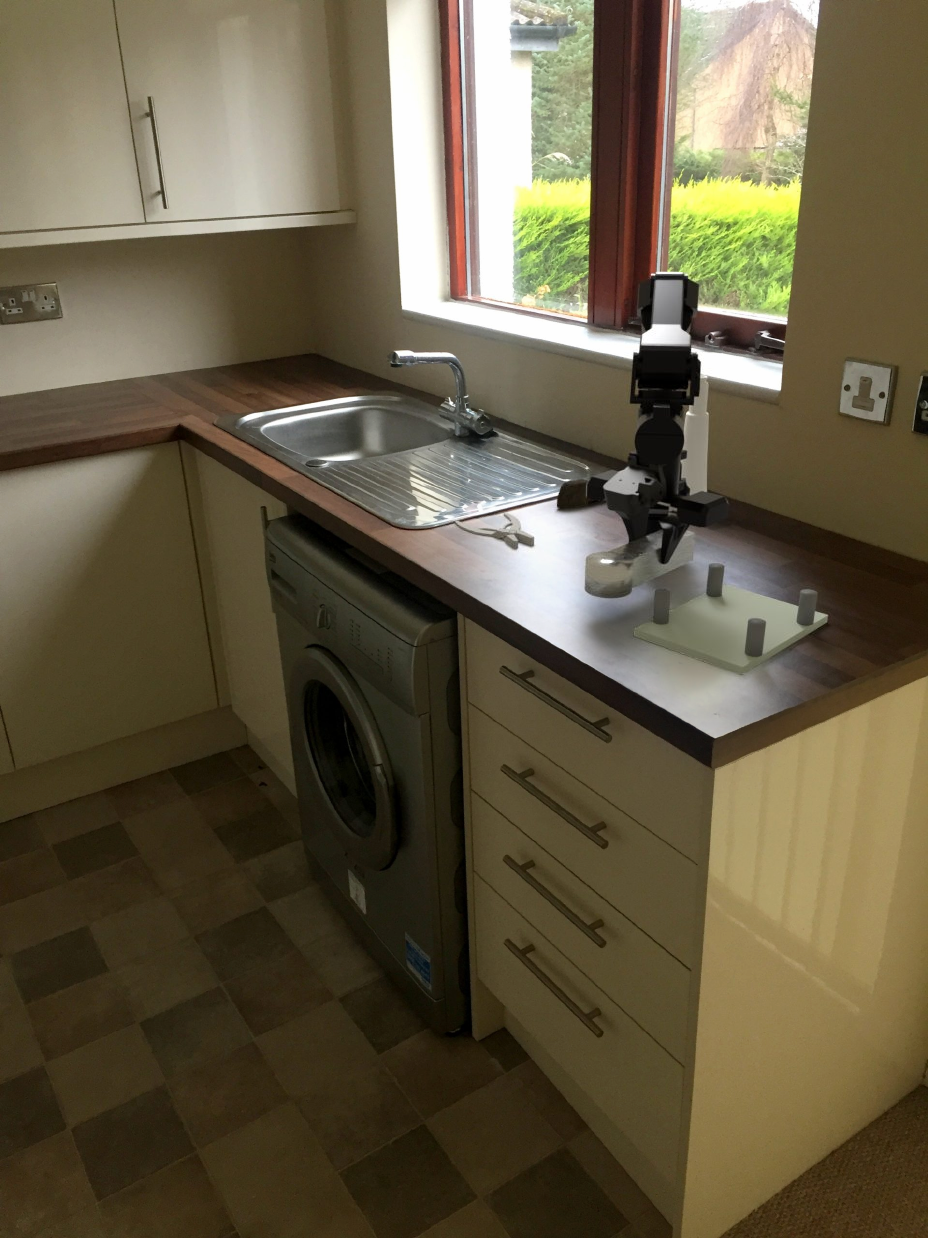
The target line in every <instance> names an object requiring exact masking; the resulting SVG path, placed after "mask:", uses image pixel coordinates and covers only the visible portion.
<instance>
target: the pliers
mask: <svg viewBox="0 0 928 1238" xmlns="http://www.w3.org/2000/svg"><path fill="white" fill-rule="evenodd" d="M503 516H504V517H505V518H507V519H508V521H510V522H507V523H505V524H504V525H503V527H499V528H498V529H497V528H493V527H492V528H491V527H474V526H470V525H467V523H463V522H461V521H459V520H455V521H454V523H455V525H456V526H458V527H459V528H460V529H461V530H463V531H466V532H468V533H470V534H471V533H472V534H475V535H478V536H483V537H492V538H498V539H501V538H502V539H503V540H504V542H505V543H507V544H508V545H509V546H511V547H512V548H514V549H519V542H521V543H524V544H526V545H529V546H531V547H532V546H534V545H535V536H533V535H532V534H530V533H528V532H526V531H524V530H521V529H522V526H521V525H522V524H521V522H520V520H519V518H517V516H514V515H513V514H511V513H509V512H503ZM508 527H510V528H508Z"/></svg>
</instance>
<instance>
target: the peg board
mask: <svg viewBox="0 0 928 1238" xmlns="http://www.w3.org/2000/svg"><path fill="white" fill-rule="evenodd" d="M707 569H708V571H707V579H706V592H705V593H703V594H700V595H699V596H697V597H695V598H693V599H691V600H689V601H687V602H685V603H683V604H681V605H678V606H677V607H674V609H671V595H672V591H671V590H670V589H668V588H664V587H663V588H661V587H660V588H656V589H654V592H653V606H652V608H653V609H652V617H651V618H652V619H651V620H649V621H647V622H645V623H643V624H641V625H639V626H637V627H635V628H634V633H633V634H634V635H633V636H634V637H636V638H639V639H640V640H641V639H642V640H644V641H647V642H650V643H652V644H655V645H658V646H660V647H663V648H666V649H669V650H671V651H674V650H675V652H677V653H680V654H682V653H683V655H686V656H688V657H691V658H694V659H697V660H698V661H702V662H704V663H707V664H710V665H713V666H715V667H718V668H721V669H724V670H727V671H729V672H733V673H735V674H738V675H741V676H742V675H744V674H746V673H747V672H749V671H750V670H752V669H753V668H756V667H757V666H758V665H760V664H762V663H763V662H765V661H766V660H767V661H768V659H770V658H772V657H773V656H775V655H776V654H779V653H780V652H781V651H783V650H785V649H786V648H788V647H790V646H792V644H794V643H796V642H797V641H799V640H801V639H802V638H804V637H806V636H807V635H809V634H810V633H812V632H814V631H815V630H817V629H818V628H820V627H821V626H824V625H825V624H826V623H828V620H829V619H828V618H829V615H828V614H826V613H822V612H819V611H816V607H817V602H818V601H817V599H818V592H817V590H814V589H808V588H806V589H801V590H800V592H799V600H798V605H795V604H793V603H789V602H786V601H782V600H779V599H776V598H772V597H769V596H766V595H762V594H759V593H755V592H753V591H749V590H745V589H742V588H739V587H736V586H733V585H729V584H725V583H724V577H725V575H724V574H725V564H723V563H720V562H719V563H718V562H713V563H708V568H707ZM670 609H671V610H670Z"/></svg>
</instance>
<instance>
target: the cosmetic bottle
mask: <svg viewBox="0 0 928 1238" xmlns="http://www.w3.org/2000/svg"><path fill="white" fill-rule="evenodd" d="M708 378H709V377H708V376H707V375H705V374H700V393H699V397H694V405H688V407H689V408H688V411H687V412H686V414H685V417H684V446H683V449H682V450H687V458H686V459H683V460H681V464H682V474H681V478H686V483H687V485H688V487H689V488H690V495H693V494H695V493H698V492H700V491H704V492H708V487H707V486H708V478H707V477H708V451H709V449H708V447H709V424H710V421H709V419H710V417H709V416H710V413H709V412H707V411H708V409H707V408H708V398H709V387H710V385H709V382H708V381H707V380H708Z"/></svg>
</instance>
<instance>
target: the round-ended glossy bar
mask: <svg viewBox="0 0 928 1238" xmlns="http://www.w3.org/2000/svg"><path fill="white" fill-rule="evenodd" d="M662 534H663V529H662V530H660V531H657V532H655V533H652V534H650V535H647V536H645V537H642V538H640V539H638V540H635V541H633V542H630V543H628V542H627V543H625V544H623V545H621V546H619V547H616V548H613V549H611V550H609V551H597V552H593V553H590V554H588V555H587V556H586V558H585V566H584V567H585V569H584V591H585V593H587V594H588V595H590V596H593V597H596V598H599V599H600V598H601V599H620V598H624V597H628V596H629V595H631V594H632V592H633V588H636V587H638V586H640V585H643V584H645V583H646V582H648V581H649V582H650V581H652V580H653V579H656V578H658V577H660V576H662V575H664V574H667V573H669V572H671V571H673V570H675V569H678V568H680V567H682V566H684V565H686V564H688V563H690V562H693V560H694V551H695V541H696V540H695V539H696V532H694V531H691V530H687V531H686V532H685V533H684V535H683V537H682V539H681V540H680V542H679V544H678V546H677V548H676V549H675V551H674V553H673V555H672V557H671V558H670V560H669V562H668V563H667V564H661V546H662Z"/></svg>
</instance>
